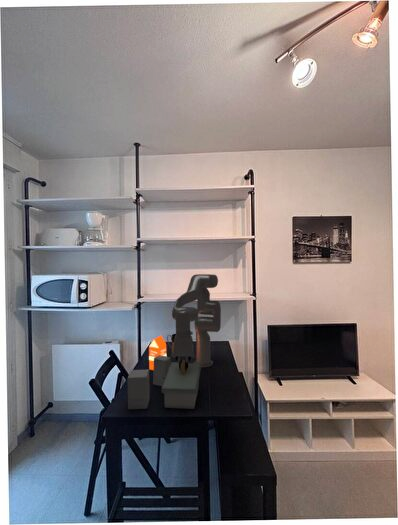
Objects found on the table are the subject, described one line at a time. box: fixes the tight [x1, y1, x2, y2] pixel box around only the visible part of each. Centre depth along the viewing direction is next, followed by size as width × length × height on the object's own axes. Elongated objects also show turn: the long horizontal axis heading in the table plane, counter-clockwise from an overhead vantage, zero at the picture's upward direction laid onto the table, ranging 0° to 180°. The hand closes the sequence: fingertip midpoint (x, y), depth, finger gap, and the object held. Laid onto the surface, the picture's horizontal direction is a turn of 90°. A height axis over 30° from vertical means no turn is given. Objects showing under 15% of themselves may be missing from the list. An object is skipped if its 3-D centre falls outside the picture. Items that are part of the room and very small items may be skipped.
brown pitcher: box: [166, 333, 176, 357], centre depth 187 cm, size 9×14×15 cm, turn 53°
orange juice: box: [148, 335, 168, 371], centre depth 164 cm, size 8×9×20 cm
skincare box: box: [152, 355, 172, 387], centre depth 142 cm, size 8×6×15 cm
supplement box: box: [127, 369, 151, 410], centre depth 122 cm, size 9×9×15 cm
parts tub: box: [163, 382, 200, 410], centre depth 128 cm, size 20×14×8 cm
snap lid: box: [161, 359, 202, 395], centre depth 127 cm, size 22×16×7 cm
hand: (183, 369), depth 131 cm, fingers closed on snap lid
